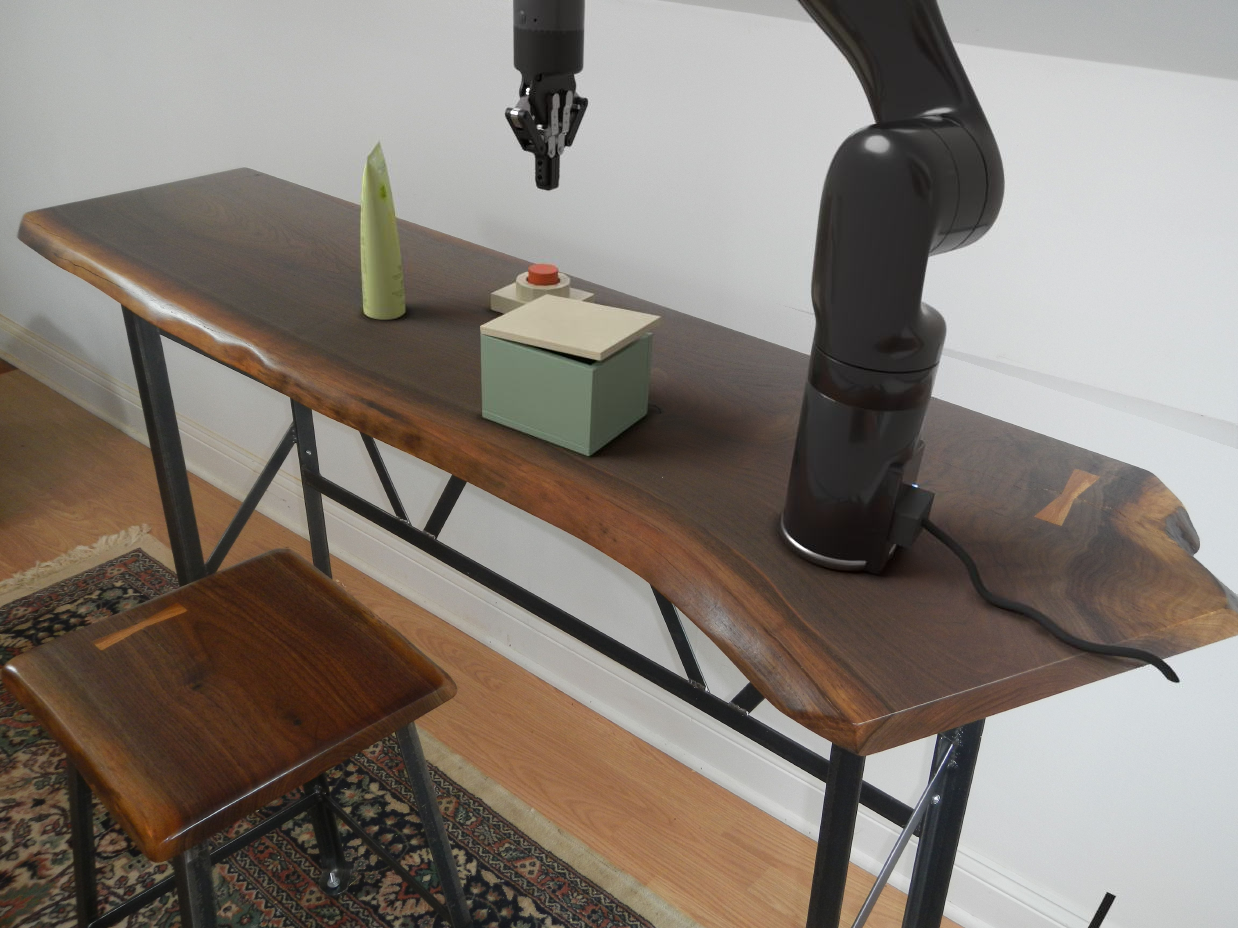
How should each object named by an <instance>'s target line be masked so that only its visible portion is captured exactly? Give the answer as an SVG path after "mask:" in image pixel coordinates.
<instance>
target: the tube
mask: <svg viewBox="0 0 1238 928" xmlns="http://www.w3.org/2000/svg"><path fill="white" fill-rule="evenodd" d="M380 140H381V139H377V141H376V143H375V145H374V146H373V148H372V149H371V150H370V152H369V153H368V154H367V155H366V162H365V165H364V168H363V174H362V175H363V176H362V182H361V184H362V185H361V203H360V206H361V207H360V267H361V288H362V307H363V314H364V315H365V316H367V317H368V318H371V319H373V320H379V321H380V320H381V321H388V320H394V319H398V318H400V317H402V316H403V315H404V314H405V313H406V299H405V296H406V295H405V286H404V284H405V283H404V275H403V265H402V255H401V248H400V247H401V246H400V237H399V231H398V230H399V229H398V224H397V216H396V210H395V204H394V198H393V192H392V188H391V187H392V186H391V183H390V182H391V181H390V177H389V171H388V167H387V162H386V159H385V155H384V152H383V149H382V146H381V141H380Z"/></svg>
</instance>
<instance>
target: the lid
mask: <svg viewBox="0 0 1238 928" xmlns="http://www.w3.org/2000/svg"><path fill="white" fill-rule="evenodd" d="M661 325H662V316H660V315H656V314H650V313H645V312H640V311H634V310H630V309H626V308H625V309H624V308H620V307H614V306H609V305H603V304H600V303H595V302H594V303H589V302H584V301H579V300H573V299H568V298H563V297H558V296H553V295H548V294H546V295H544V296H542V297H540V298H538V299H536V300H534V301H531V302H529V303H527V304H525V305H523V306H521V307H519V308H517V309H515V310H513V311H511V312H508V313H506V314H504V313H503V314H502V315H500V316H498V317H496V318H494V319H492V320H489V321H487V322H486V323H484V324H481V325H479V327H480V328H479V329H480V335H481V334H485V335H489V336H493V337H498V338H502V339H507V340H511V341H515V342H520V343H524V344H529V345H533V346H537V347H542V348H546V349H551V350H555V351H559V352H564V353H568V354H573V355H577V356H581V357H586V358H590V359H595V360H599V361H602V360H603V359H605V358H606V357H608V356H610V355H611V354H613V353H615V352H616V351H618V350H620V349H621V348H623V347H624V346H626V345H628V344H629V343H631V342H633V341H634V340H636V339H638V338H639V337H641V336H643V335H644V334H646V333H647V332H650V331H652V330H654V329H656V328H658V327H659V326H661Z"/></svg>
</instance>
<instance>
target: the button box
mask: <svg viewBox="0 0 1238 928" xmlns="http://www.w3.org/2000/svg"><path fill="white" fill-rule="evenodd" d="M546 294H548V295H553V296H558V297H563V298H568V299H573V300H579V301H584V302H589V303H594V304H595V297H596V296H595V293H592V292H589V291H585V290H583V289H578V288H574V287H571V278H570V277H569V276H568V275H566V274H565V273H562V272H558V284H555V285H549V286H540V285H534V284H530V283H529V282H528V271H525V272H522V273H520V274H518V275H517V276H516V279H515V282H513V283H510V284H508V285H506V286H504V287H502V288H499V289H497V290H495V291H493V292H491V293H490V310H492V311H494V312H498V313H500V314H501V313H502V314H503V315H504V314H506V313H508V312H511V311H513V310H515V309H517V308H519V307H521V306H523V305H525V304H527V303H529V302H531V301H534V300H536V299H538V298H540V297H542V296H544V295H546Z"/></svg>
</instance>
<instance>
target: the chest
mask: <svg viewBox="0 0 1238 928" xmlns="http://www.w3.org/2000/svg"><path fill="white" fill-rule="evenodd" d="M653 341H654V333H653V332H650V331H649V332H647V333H646V334H644V335H643V336H641V337H639V338H638V339H636V340H634V341H633V342H631V343H629V344H628V345H626V346H624V347H623V348H621V349H620V350H618V351H616V352H615V353H613V354H611V355H610V356H608V357H606V358H605V359H603V360H602V361H599V360H595V359H590V358H586V357H581V356H577V355H573V354H568V353H564V352H559V351H555V350H551V349H546V348H542V347H537V346H533V345H529V344H524V343H520V342H515V341H511V340H507V339H502V338H498V337H493V336H489V335H485V334H481V333H480V370H481V371H480V372H481V375H480V376H481V407H482V408H481V411H482V412H481V413H482V414H481V415H482V418H484V419H487V420H489V421H492V422H494V423H497V424H500V425H502V426H505V427H508V428H510V429H513V430H515V431H519V432H522V433H524V434H526V435H530V436H533V437H536V438H538V439H540V440H543V441H545V442H548V443H552V444H554V445H557V446H560V447H562V448H565V449H568V450H570V451H573V452H576V453H578V454H581V455H584V456H587V457H590V456H592V455H593V454H595V453H596V452H597V451H599V450H601V448H603V447H604V446H606V445H607V444H609V442H611V441H612V440H614V439H615V438H616V437H618V436H619V435H621V434H622V433H623V432H624V431H626V430H628V429H629V428H631V427H632V426H633V425H634V424H635V423H637V422H638V421H640V420H641V419H642V418H644V417H645V416H646V415H648V405H649V393H650V392H649V391H650V378H651V367H652V354H653Z"/></svg>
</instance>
